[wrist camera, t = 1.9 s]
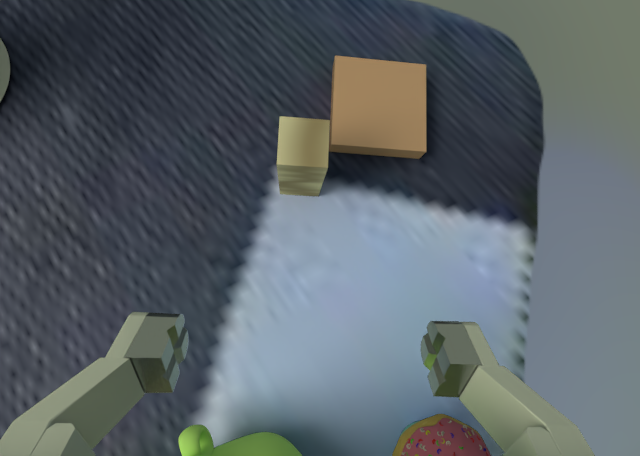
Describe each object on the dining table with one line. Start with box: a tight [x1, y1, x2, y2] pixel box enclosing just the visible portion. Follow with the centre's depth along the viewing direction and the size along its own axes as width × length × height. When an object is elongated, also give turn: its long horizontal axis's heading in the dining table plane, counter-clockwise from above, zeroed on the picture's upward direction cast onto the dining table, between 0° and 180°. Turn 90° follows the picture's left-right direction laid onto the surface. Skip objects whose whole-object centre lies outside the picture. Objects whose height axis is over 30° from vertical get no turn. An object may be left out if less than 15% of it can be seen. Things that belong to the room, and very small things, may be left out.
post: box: [277, 116, 330, 196], centre depth 31 cm, size 4×4×9 cm
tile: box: [329, 56, 426, 159], centre depth 36 cm, size 10×10×2 cm
